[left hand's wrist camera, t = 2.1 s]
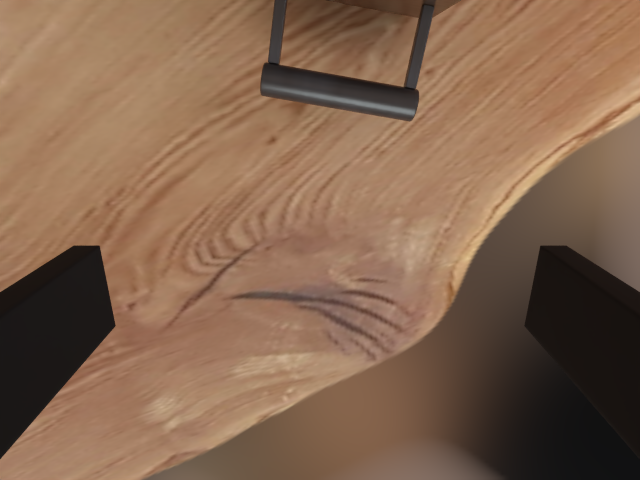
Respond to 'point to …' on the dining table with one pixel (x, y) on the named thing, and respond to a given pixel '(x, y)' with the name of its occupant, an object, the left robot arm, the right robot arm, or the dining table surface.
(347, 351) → the dining table surface
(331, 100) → the drawer
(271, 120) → the dining table surface
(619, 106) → the dining table surface
